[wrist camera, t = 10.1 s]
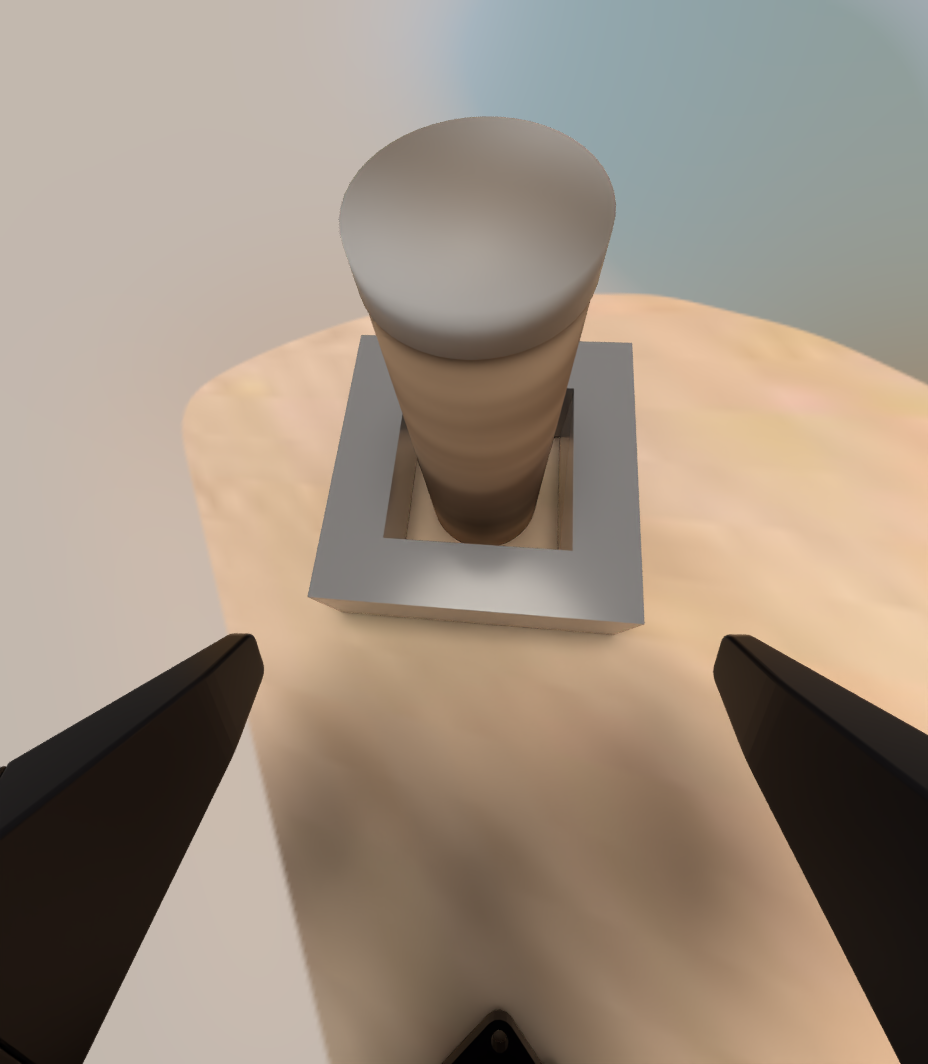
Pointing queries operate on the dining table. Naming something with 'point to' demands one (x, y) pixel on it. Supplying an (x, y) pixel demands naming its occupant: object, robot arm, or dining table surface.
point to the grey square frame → (487, 570)
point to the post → (479, 300)
